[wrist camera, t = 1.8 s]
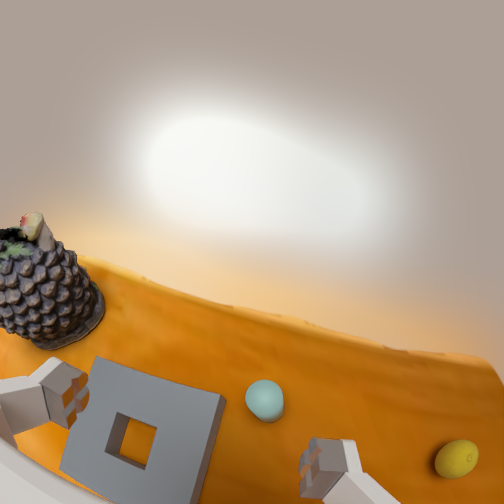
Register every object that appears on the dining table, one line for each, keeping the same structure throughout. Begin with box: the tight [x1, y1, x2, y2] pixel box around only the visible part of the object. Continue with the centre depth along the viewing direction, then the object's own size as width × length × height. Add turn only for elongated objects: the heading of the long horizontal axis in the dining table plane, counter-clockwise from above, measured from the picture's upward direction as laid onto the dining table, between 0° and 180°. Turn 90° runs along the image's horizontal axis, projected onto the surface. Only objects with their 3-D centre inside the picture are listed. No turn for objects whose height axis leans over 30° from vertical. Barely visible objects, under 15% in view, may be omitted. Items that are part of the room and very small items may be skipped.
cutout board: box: [59, 356, 226, 504], centre depth 33 cm, size 20×20×4 cm
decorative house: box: [0, 212, 104, 350], centre depth 39 cm, size 21×15×25 cm
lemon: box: [435, 439, 478, 479], centre depth 25 cm, size 6×6×8 cm
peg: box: [245, 380, 284, 423], centre depth 34 cm, size 4×4×9 cm
